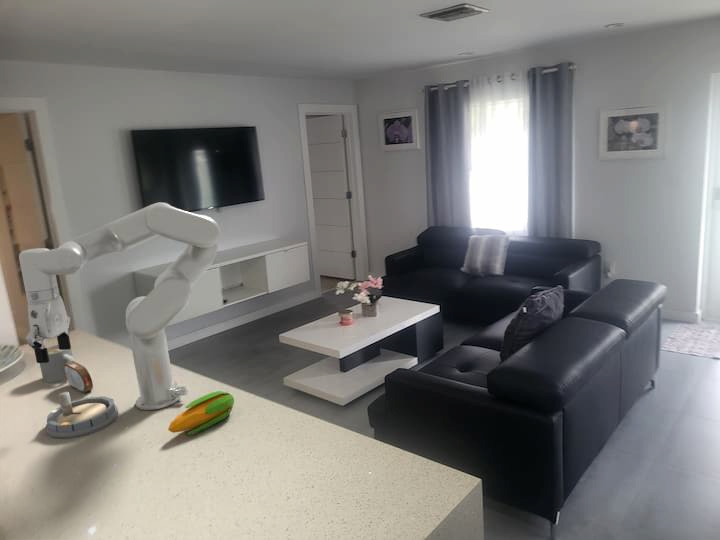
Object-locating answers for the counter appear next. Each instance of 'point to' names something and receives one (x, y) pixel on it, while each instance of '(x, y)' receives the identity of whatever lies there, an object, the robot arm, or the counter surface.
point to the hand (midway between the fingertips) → (54, 355)
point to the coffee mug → (56, 364)
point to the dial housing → (83, 426)
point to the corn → (203, 412)
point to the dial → (77, 410)
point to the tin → (78, 376)
